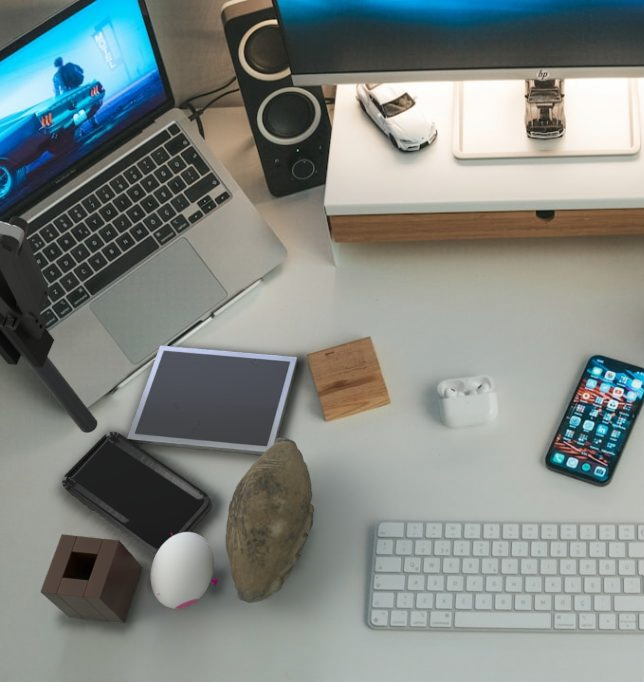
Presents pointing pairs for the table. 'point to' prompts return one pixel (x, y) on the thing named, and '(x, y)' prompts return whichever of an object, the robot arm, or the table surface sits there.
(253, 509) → the stone
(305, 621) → the table surface
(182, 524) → the phone
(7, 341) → the robot arm
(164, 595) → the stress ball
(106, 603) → the pen stand
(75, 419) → the stylus
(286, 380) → the tablet
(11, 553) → the table surface
